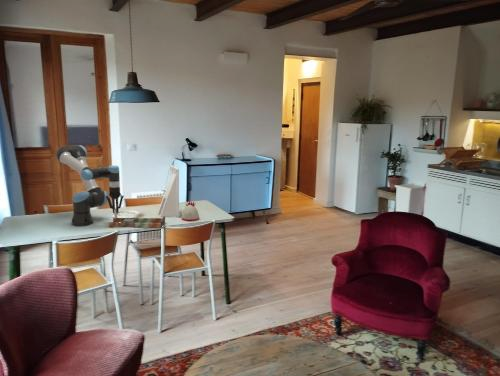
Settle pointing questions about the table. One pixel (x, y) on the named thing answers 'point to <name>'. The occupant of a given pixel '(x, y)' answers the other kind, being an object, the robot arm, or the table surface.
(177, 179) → the white bracket plate
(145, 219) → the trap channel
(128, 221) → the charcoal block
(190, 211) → the beige rounded dome
